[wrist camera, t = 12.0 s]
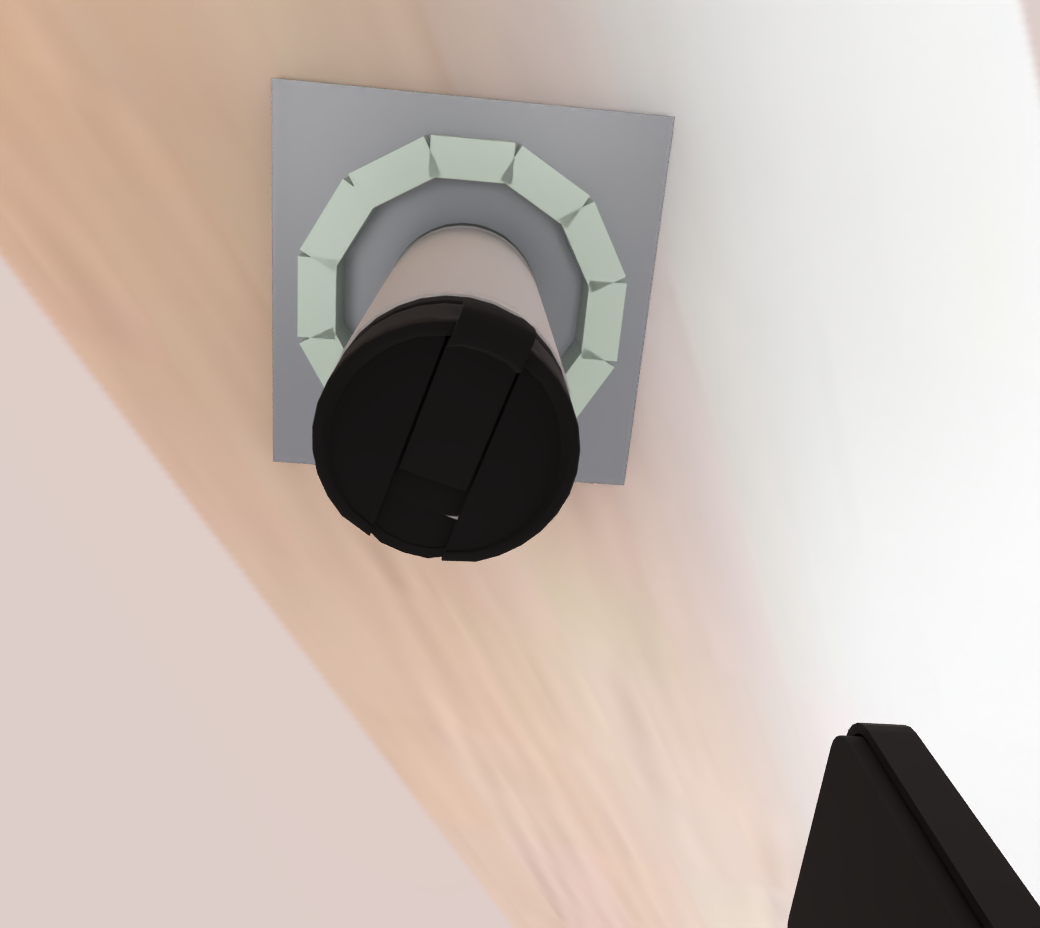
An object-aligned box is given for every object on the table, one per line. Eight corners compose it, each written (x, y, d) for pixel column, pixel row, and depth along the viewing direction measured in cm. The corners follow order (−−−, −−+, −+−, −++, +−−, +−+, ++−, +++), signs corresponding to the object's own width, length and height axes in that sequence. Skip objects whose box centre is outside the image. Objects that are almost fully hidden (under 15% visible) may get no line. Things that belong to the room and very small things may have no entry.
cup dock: (276, 79, 37) (257, 74, 34) (670, 116, 38) (688, 116, 35) (277, 454, 42) (260, 481, 39) (620, 477, 43) (632, 506, 40)
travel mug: (562, 248, 39) (636, 368, 20) (504, 389, 41) (522, 619, 22) (421, 190, 38) (361, 259, 19) (369, 338, 40) (267, 533, 21)
